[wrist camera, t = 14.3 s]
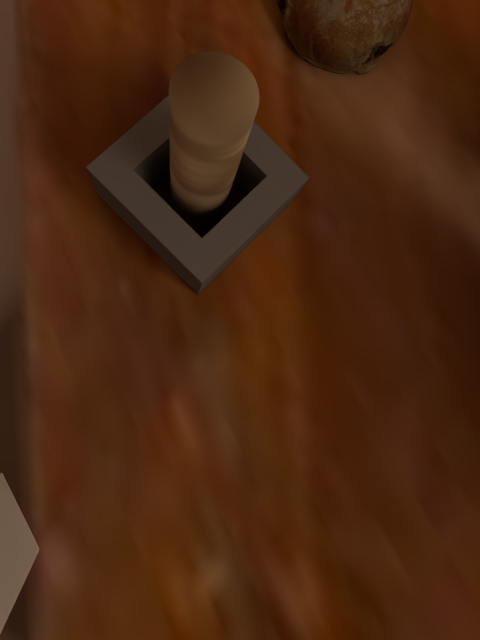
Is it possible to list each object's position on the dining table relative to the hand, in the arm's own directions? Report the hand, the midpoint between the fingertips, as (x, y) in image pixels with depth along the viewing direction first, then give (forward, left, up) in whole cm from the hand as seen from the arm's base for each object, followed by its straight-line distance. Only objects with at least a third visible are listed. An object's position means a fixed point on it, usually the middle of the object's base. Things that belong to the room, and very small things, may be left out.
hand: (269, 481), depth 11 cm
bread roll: (-29, -14, -22) cm, 39 cm away
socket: (-10, -11, -22) cm, 26 cm away
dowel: (-10, -11, -22) cm, 26 cm away
